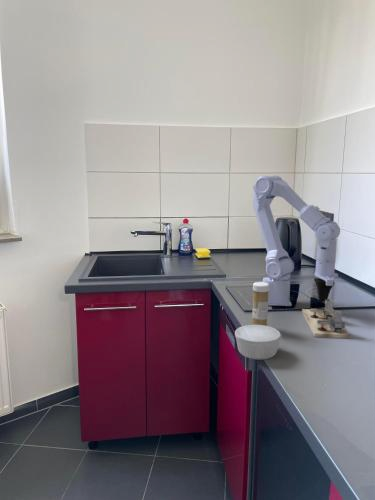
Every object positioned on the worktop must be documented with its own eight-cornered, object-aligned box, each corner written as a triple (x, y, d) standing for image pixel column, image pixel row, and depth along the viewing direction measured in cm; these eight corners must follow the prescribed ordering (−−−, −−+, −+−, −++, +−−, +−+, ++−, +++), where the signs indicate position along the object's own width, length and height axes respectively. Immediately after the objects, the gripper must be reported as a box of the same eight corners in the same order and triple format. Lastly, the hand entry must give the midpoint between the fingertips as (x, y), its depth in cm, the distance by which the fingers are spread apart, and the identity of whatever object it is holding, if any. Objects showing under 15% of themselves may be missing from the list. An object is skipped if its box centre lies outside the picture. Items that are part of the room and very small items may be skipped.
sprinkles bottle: (249, 325, 117) (251, 281, 114) (264, 324, 117) (266, 281, 115) (254, 331, 112) (255, 285, 110) (269, 330, 113) (271, 285, 110)
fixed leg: (318, 330, 110) (319, 312, 109) (316, 326, 113) (317, 309, 112) (344, 331, 109) (345, 313, 108) (341, 327, 112) (342, 309, 111)
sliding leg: (311, 317, 119) (312, 301, 118) (309, 314, 122) (310, 298, 121) (335, 318, 119) (336, 302, 118) (332, 315, 122) (333, 299, 121)
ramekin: (225, 351, 100) (226, 332, 99) (252, 339, 107) (252, 320, 106) (262, 367, 92) (263, 346, 91) (288, 352, 100) (289, 332, 99)
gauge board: (314, 336, 109) (315, 329, 108) (302, 311, 128) (302, 306, 128) (348, 338, 108) (349, 331, 107) (330, 312, 127) (330, 307, 127)
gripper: (345, 265, 117) (341, 309, 120) (332, 255, 131) (329, 294, 134) (320, 265, 118) (317, 308, 120) (311, 255, 132) (308, 293, 135)
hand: (322, 301), depth 127 cm, fingers closed
